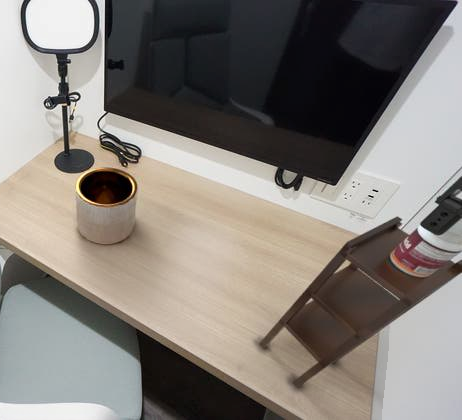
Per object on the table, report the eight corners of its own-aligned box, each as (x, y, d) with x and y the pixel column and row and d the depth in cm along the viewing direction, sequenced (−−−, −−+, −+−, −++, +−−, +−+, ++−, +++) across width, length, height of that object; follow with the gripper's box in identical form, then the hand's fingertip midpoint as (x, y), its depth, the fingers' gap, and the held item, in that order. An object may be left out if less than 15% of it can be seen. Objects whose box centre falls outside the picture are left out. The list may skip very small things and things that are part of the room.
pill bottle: (394, 245, 47) (437, 205, 41) (434, 265, 44) (485, 225, 39) (383, 262, 45) (426, 222, 39) (424, 284, 42) (477, 244, 36)
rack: (336, 361, 68) (476, 262, 43) (296, 388, 64) (424, 296, 39) (296, 321, 74) (397, 216, 49) (258, 343, 71) (346, 241, 46)
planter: (143, 217, 100) (149, 178, 89) (116, 255, 89) (119, 216, 78) (95, 198, 107) (95, 160, 96) (65, 231, 96) (61, 192, 85)
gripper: (629, 128, 23) (453, 261, 34) (698, 90, 27) (519, 220, 38) (498, 89, 28) (382, 217, 39) (573, 62, 32) (447, 185, 43)
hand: (450, 218), depth 39 cm, fingers open, 8 cm apart
